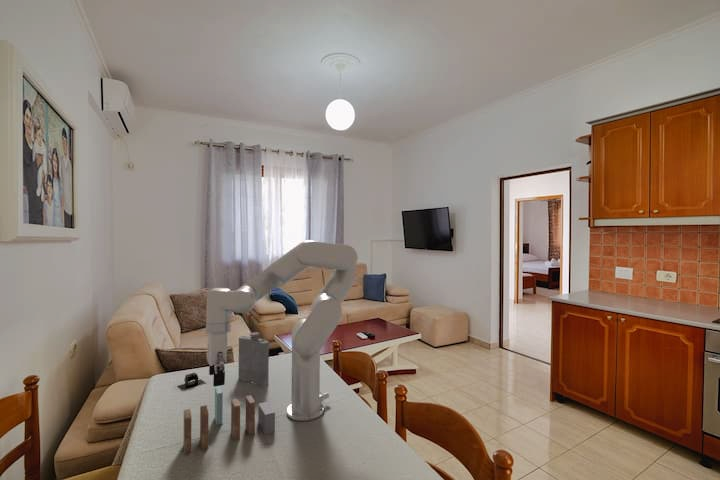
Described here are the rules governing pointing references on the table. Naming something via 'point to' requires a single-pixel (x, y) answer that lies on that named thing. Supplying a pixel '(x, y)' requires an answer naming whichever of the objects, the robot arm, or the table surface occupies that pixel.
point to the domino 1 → (187, 431)
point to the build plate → (191, 384)
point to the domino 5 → (250, 415)
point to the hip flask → (254, 359)
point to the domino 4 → (235, 419)
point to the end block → (266, 417)
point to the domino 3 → (218, 405)
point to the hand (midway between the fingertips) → (216, 379)
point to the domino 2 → (204, 427)
